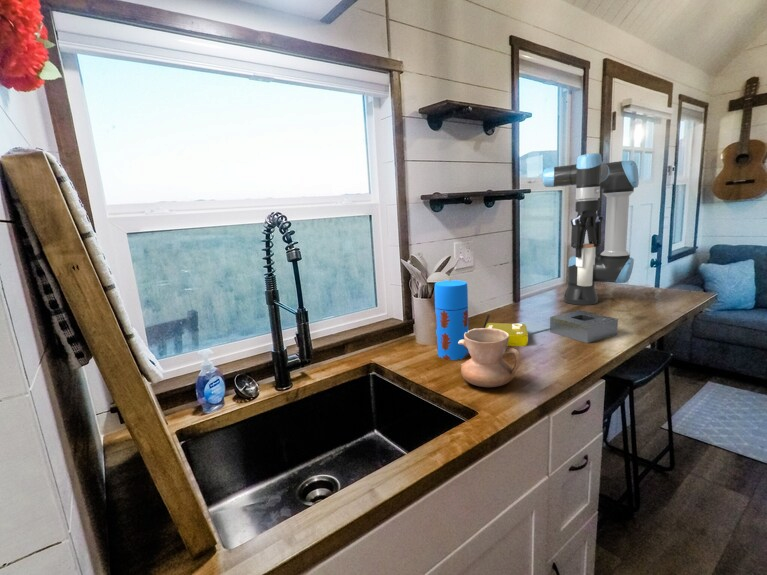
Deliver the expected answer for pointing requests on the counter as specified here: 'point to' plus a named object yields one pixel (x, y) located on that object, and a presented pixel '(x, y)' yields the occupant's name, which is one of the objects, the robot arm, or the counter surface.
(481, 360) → the ceramic jug
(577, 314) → the block
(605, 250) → the robot arm
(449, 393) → the counter surface
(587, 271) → the white cylinder
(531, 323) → the mat
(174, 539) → the counter surface
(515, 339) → the element tile
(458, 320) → the thermos
